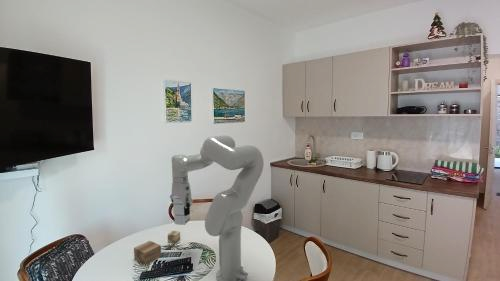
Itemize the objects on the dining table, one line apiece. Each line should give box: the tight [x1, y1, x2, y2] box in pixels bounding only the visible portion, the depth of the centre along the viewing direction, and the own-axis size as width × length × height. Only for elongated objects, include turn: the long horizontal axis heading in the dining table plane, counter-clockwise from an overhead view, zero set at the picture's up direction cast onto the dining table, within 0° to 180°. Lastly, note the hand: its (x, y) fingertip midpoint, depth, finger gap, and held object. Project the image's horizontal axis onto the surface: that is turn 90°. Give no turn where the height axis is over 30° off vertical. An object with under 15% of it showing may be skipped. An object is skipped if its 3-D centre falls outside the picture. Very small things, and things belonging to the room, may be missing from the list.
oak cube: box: [167, 230, 181, 245], centre depth 148 cm, size 5×5×5 cm
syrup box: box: [172, 196, 191, 226], centre depth 133 cm, size 6×6×14 cm
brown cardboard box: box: [133, 240, 162, 266], centre depth 131 cm, size 9×9×6 cm
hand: (181, 213), depth 134 cm, fingers closed on syrup box, 7 cm apart
